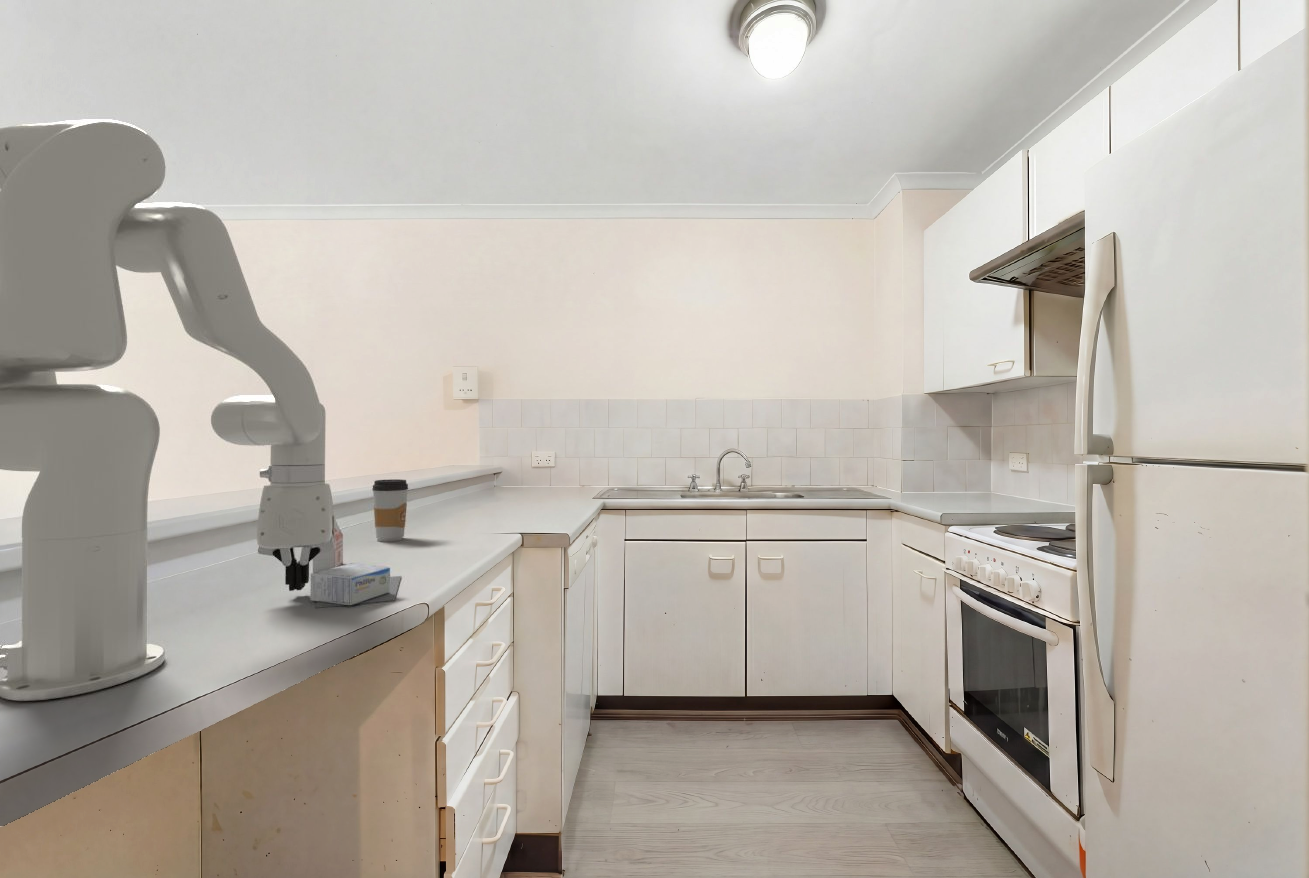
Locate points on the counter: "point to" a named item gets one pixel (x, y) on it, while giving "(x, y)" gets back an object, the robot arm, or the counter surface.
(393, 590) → the mat
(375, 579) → the medicine box
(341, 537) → the small milk carton
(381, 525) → the coffee cup
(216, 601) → the counter surface
